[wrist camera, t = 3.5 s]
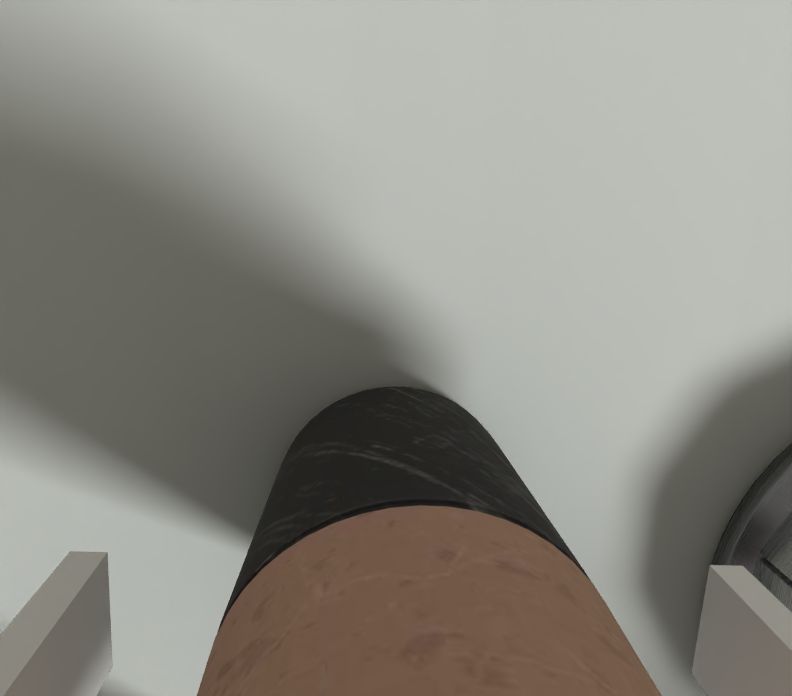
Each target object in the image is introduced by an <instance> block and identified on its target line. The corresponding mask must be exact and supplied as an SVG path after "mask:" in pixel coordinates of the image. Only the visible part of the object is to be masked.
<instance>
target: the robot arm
mask: <svg viewBox="0 0 792 696" xmlns="http://www.w3.org/2000/svg"><path fill="white" fill-rule="evenodd" d="M111 668H112V645H111V622H110V600H109V577H108V555H107V552H73V551H70V552H69V553H68V555H67V556H66V557H65V558H64V559H63V561H62V562H61V563H60V564H59V565H58V567H57V568H56V569H55V570H54V571H53V573H52V574H51V575H50V576H49V577H48V579H47V580H46V581H45V582H44V583H43V585H42V586H41V587H40V588H39V589H38V591H37V592H36V593H35V594H34V595H33V597H32V598H31V599H30V600H29V601H28V603H27V604H26V605H25V606H24V607H23V609H22V610H21V611H20V612H19V613H18V615H17V616H16V617H15V618H14V619H13V621H12V622H11V623H10V624H9V625H8V627H7V628H6V629H5V630H4V631H3V633H2V634H1V635H0V696H97V694H98V692H99V690H100V689H101V687H102V685H103V683H104V681H105V679H106V677H107V676H108V674H109V672H110V670H111ZM691 673H692V674H693V676H694V677H695V679H696V680H697V681H698V683H699V684H700V686H701V687H702V689H703V690H704V691H705V693H706V694H707V696H792V612H791V611H790V610H789V609H788V608H786V607H785V606H784V605H783V604H782V603H781V602H780V601H779V600H778V599H777V598H776V597H775V596H774V595H773V594H772V593H771V592H770V591H769V590H768V589H767V588H766V587H764V586H763V585H762V584H761V583H760V582H759V581H758V580H757V579H756V578H755V577H754V576H753V575H752V574H751V573H750V572H749V571H748V570H747V569H746V568H745V567H744V566H731V565H710V566H709V572H708V578H707V584H706V589H705V595H704V601H703V607H702V613H701V619H700V625H699V631H698V637H697V643H696V649H695V655H694V660H693V666H692V672H691Z"/></svg>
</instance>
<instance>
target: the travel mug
mask: <svg viewBox="0 0 792 696" xmlns="http://www.w3.org/2000/svg"><path fill="white" fill-rule="evenodd" d="M197 696H661V695H660V693H659V691H658V690H657V688H656V686H655V685H654V683H653V681H652V680H651V678H650V676H649V675H648V673H647V671H646V670H645V668H644V666H643V665H642V663H641V661H640V660H639V658H638V656H637V655H636V653H635V651H634V650H633V648H632V646H631V645H630V643H629V641H628V640H627V638H626V636H625V635H624V633H623V631H622V630H621V628H620V626H619V625H618V623H617V621H616V620H615V618H614V616H613V615H612V613H611V611H610V610H609V608H608V606H607V605H606V603H605V602H604V600H603V599H602V597H601V596H600V594H599V593H598V591H597V589H596V588H595V586H594V585H593V583H592V582H591V580H590V579H589V577H588V576H587V574H586V573H585V571H584V570H583V568H582V567H581V566H580V564H579V563H578V561H577V560H576V558H575V557H574V555H573V554H572V552H571V551H570V550H569V548H568V547H567V545H566V544H565V542H564V541H563V539H562V538H561V536H560V535H559V533H558V532H557V531H556V529H555V528H554V526H553V525H552V523H551V522H550V520H549V519H548V517H547V516H546V515H545V513H544V512H543V510H542V509H541V507H540V506H539V504H538V503H537V501H536V500H535V498H534V497H533V496H532V494H531V493H530V491H529V490H528V488H527V487H526V485H525V484H524V482H523V481H522V480H521V478H520V477H519V475H518V474H517V472H516V471H515V469H514V468H513V466H512V465H511V464H510V462H509V461H508V459H507V458H506V456H505V455H504V453H503V452H502V450H501V449H500V447H499V446H498V445H497V443H496V442H495V441H494V439H493V438H492V437H491V435H490V434H489V433H488V432H487V430H486V429H485V428H484V427H483V426H482V425H481V424H480V423H479V422H478V420H477V419H476V418H474V417H473V416H472V415H471V414H470V413H469V412H467V411H466V410H465V409H463V408H462V407H460V406H459V405H457V404H456V403H454V402H453V401H450V400H448V399H446V398H444V397H442V396H440V395H437V394H434V393H431V392H428V391H424V390H419V389H413V388H404V387H386V388H376V389H371V390H366V391H362V392H359V393H356V394H353V395H350V396H348V397H345V398H343V399H341V400H339V401H337V402H335V403H333V404H332V405H330V406H329V407H327V408H326V409H324V410H323V411H321V412H320V413H319V414H318V415H317V416H316V417H314V418H313V419H312V420H311V421H310V422H309V423H308V424H307V425H306V426H305V427H304V429H303V430H302V431H301V432H300V433H299V435H298V436H297V438H296V439H295V441H294V442H293V444H292V445H291V447H290V449H289V451H288V453H287V455H286V457H285V459H284V461H283V463H282V465H281V468H280V470H279V472H278V475H277V477H276V480H275V482H274V485H273V488H272V490H271V493H270V495H269V498H268V501H267V503H266V506H265V508H264V511H263V514H262V516H261V519H260V522H259V524H258V527H257V529H256V532H255V535H254V537H253V540H252V542H251V545H250V548H249V550H248V553H247V556H246V558H245V561H244V563H243V566H242V569H241V571H240V574H239V576H238V579H237V582H236V584H235V587H234V590H233V592H232V595H231V597H230V600H229V603H228V605H227V608H226V610H225V613H224V616H223V618H222V621H221V624H220V627H219V630H218V633H217V635H216V637H215V640H214V643H213V647H212V650H211V653H210V656H209V659H208V662H207V665H206V668H205V672H204V675H203V678H202V681H201V684H200V688H199V691H198V694H197Z"/></svg>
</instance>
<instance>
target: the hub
mask: <svg viewBox="0 0 792 696" xmlns="http://www.w3.org/2000/svg"><path fill="white" fill-rule="evenodd" d="M712 565H731V566H744V567H745V568H746V569H747V570H748V571H749V572H750V573H751V574H752V575H753V576H754V577H755V578H756V579H757V580H758V581H759V582H760V583H761V584H762V585H763V586H764V587H766V588H767V589H768V590H769V591H770V592H771V593H772V594H773V595H774V596H775V597H776V598H777V599H778V600H779V601H780V602H781V603H782V604H783V605H784V606H785V607H786V608H788V609H789V610H790V611H791V612H792V445H790V446H789V447H788V448H787V449H786V450H785V451H784V452H783V453H782V454H780V455H779V456H778V457H777V458H776V459H775V460H774V461H773V462H772V464H771V465H770V466H769V467H768V468H767V469H766V470H765V471H764V473H763V474H762V475H761V476H760V477H759V478H758V479H757V481H756V482H755V483H754V484H753V486H752V487H751V489H750V490H749V492H748V493H747V494H746V496H745V497H744V499H743V500H742V502H741V503H740V505H739V506H738V507H737V509H736V511H735V513H734V515H733V517H732V519H731V521H730V522H729V524H728V526H727V528H726V530H725V532H724V534H723V536H722V539H721V541H720V544H719V547H718V549H717V552H716V555H715V557H714V560H713V563H712Z"/></svg>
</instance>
